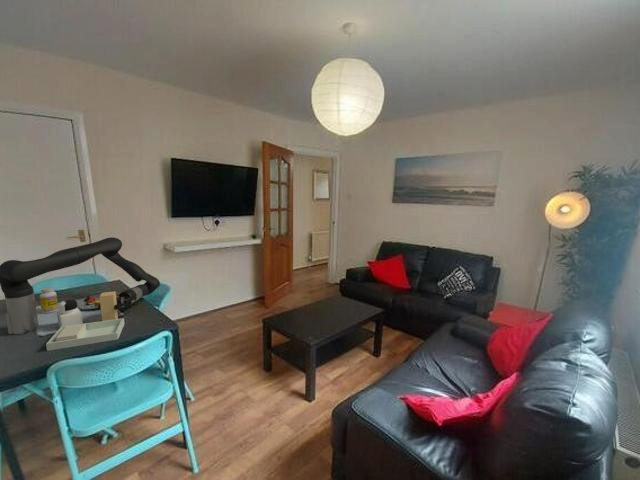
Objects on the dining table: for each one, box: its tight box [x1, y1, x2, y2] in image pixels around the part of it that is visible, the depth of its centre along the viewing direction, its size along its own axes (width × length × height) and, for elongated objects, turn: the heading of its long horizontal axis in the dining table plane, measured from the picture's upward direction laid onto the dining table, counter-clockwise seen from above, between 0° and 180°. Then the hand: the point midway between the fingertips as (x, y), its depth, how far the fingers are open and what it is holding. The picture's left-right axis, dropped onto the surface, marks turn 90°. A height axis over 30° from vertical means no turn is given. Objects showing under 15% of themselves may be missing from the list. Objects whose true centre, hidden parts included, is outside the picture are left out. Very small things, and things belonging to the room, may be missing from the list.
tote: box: [45, 317, 126, 352], centre depth 129 cm, size 24×16×4 cm, turn 115°
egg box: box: [56, 322, 86, 342], centre depth 127 cm, size 7×12×4 cm, turn 25°
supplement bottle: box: [39, 286, 59, 314], centre depth 155 cm, size 7×7×13 cm
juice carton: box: [99, 290, 119, 321], centre depth 144 cm, size 6×6×15 cm
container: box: [56, 299, 84, 328], centre depth 138 cm, size 8×8×13 cm
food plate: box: [77, 290, 121, 310], centre depth 169 cm, size 25×23×4 cm
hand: (106, 307), depth 142 cm, fingers open, 8 cm apart
